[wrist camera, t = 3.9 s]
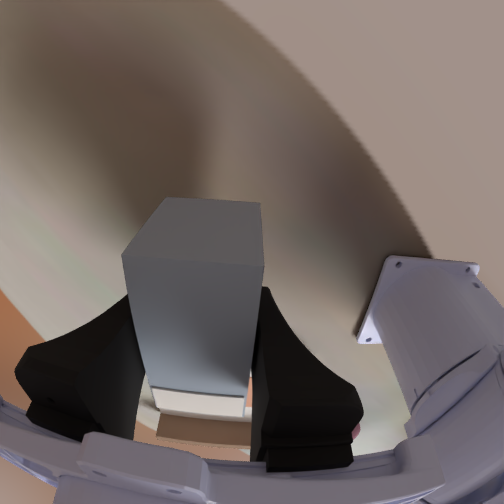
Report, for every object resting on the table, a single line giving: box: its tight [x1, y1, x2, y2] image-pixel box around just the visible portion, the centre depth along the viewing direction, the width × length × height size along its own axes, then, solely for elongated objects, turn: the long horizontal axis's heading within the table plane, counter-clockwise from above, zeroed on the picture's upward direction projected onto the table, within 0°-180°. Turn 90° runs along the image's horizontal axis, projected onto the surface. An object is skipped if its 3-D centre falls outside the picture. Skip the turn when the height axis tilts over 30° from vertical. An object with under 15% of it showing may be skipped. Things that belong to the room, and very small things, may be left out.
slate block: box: [121, 197, 264, 417], centre depth 12 cm, size 4×8×5 cm, turn 175°
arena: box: [156, 372, 252, 449], centre depth 24 cm, size 14×12×4 cm
